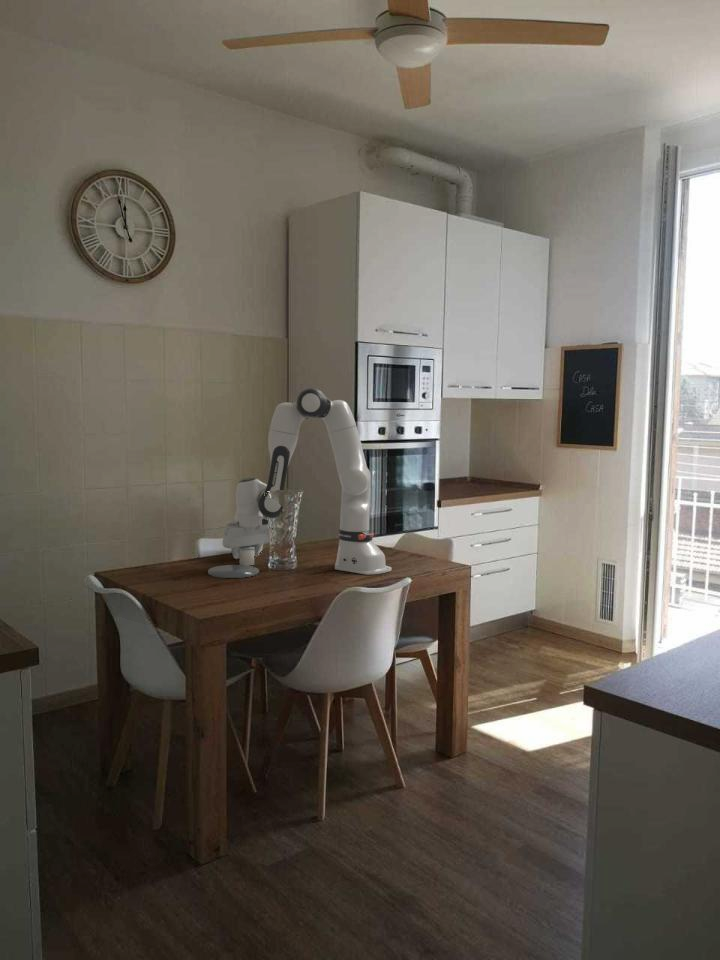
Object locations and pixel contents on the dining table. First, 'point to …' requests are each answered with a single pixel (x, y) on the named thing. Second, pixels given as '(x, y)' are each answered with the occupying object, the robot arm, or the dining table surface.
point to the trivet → (233, 571)
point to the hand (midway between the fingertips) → (246, 557)
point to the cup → (247, 555)
